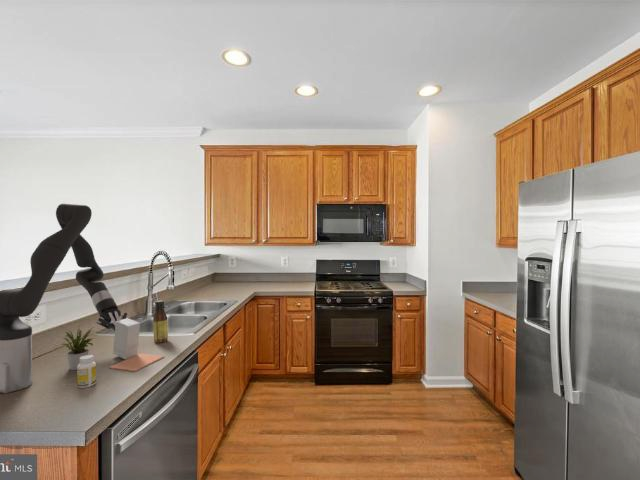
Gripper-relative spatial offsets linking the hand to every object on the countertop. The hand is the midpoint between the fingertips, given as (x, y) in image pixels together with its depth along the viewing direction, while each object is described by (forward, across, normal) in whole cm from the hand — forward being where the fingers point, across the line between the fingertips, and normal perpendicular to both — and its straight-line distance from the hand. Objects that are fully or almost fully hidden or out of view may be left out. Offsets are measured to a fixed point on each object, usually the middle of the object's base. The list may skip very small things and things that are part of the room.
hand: (120, 333), depth 148 cm
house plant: (+6, -18, +7) cm, 20 cm away
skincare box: (+8, 0, +4) cm, 9 cm away
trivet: (+17, -2, -4) cm, 17 cm away
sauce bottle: (+5, +21, +8) cm, 23 cm away
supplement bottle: (+20, -23, -7) cm, 31 cm away
